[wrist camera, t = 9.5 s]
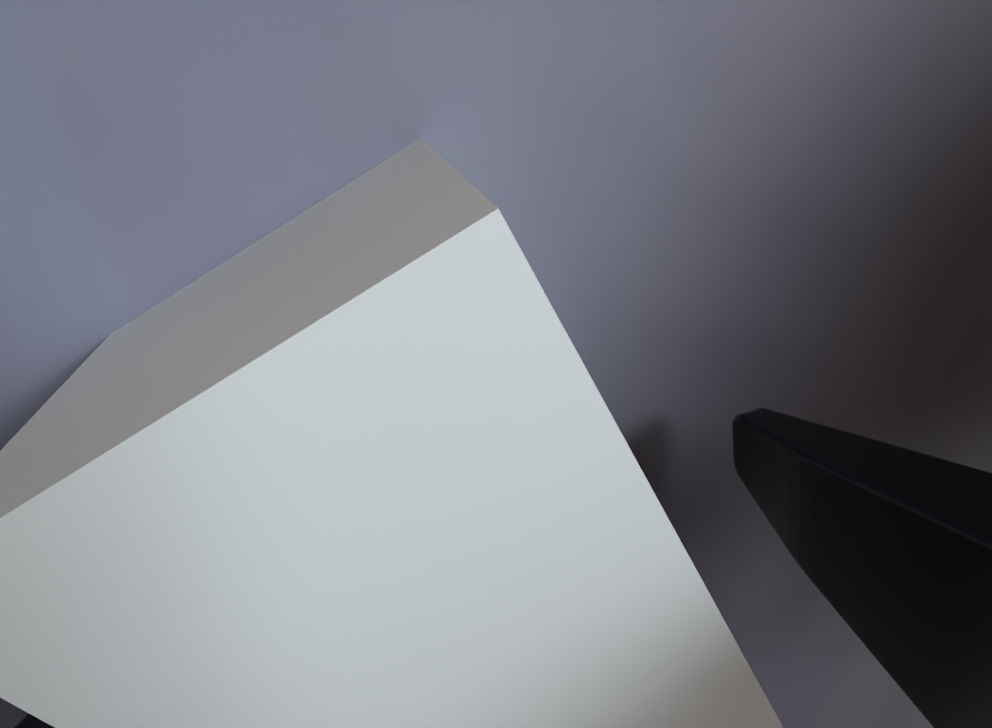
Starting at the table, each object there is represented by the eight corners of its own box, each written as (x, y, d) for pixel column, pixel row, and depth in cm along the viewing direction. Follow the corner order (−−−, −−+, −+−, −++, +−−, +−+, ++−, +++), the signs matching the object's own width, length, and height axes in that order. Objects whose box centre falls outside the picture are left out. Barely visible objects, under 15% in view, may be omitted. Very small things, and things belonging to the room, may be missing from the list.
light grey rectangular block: (114, 328, 7) (-154, 613, 4) (419, 136, 7) (497, 209, 3) (471, 681, 12) (531, 989, 8) (669, 565, 12) (835, 823, 8)
